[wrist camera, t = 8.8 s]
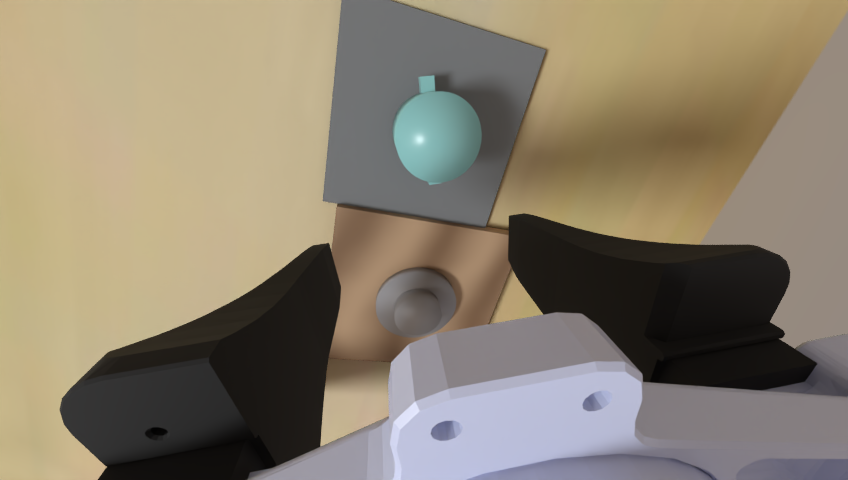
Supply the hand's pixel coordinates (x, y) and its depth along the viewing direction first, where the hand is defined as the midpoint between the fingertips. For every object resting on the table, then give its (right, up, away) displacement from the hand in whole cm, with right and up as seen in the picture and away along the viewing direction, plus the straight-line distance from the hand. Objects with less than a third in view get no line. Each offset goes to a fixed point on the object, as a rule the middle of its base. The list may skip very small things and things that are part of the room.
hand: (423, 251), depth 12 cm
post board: (-1, -4, +14) cm, 14 cm away
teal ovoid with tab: (0, +7, +7) cm, 11 cm away
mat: (0, +8, +8) cm, 11 cm away
